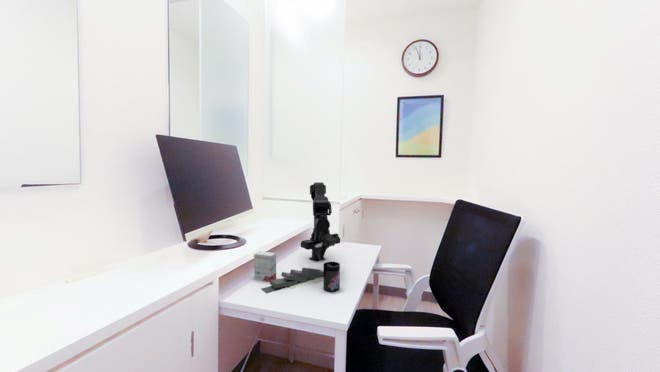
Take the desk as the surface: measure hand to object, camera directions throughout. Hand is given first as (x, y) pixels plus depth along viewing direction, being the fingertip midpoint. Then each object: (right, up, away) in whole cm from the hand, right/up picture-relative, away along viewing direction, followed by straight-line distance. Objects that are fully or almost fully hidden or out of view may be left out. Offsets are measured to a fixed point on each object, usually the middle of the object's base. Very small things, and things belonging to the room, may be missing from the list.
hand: (320, 260), depth 130 cm
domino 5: (+1, -6, +1) cm, 6 cm away
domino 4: (-4, -6, -3) cm, 8 cm away
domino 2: (-11, -6, -8) cm, 15 cm away
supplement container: (+5, -8, -14) cm, 17 cm away
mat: (-5, -7, -3) cm, 9 cm away
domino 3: (-7, -6, -5) cm, 11 cm away
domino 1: (-14, -8, -11) cm, 20 cm away
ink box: (-24, -7, -5) cm, 26 cm away
